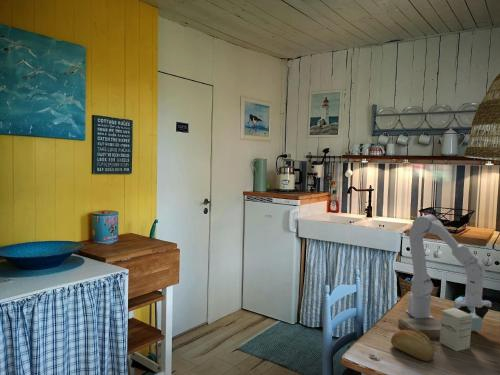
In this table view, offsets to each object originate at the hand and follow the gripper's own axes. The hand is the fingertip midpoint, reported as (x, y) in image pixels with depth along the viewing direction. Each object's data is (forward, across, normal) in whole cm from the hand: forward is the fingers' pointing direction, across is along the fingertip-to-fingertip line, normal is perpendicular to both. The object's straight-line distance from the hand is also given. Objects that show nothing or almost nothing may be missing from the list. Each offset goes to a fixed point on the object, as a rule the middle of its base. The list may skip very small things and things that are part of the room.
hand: (471, 324), depth 156 cm
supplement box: (+3, -14, -10) cm, 18 cm away
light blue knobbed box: (+3, +8, +16) cm, 18 cm away
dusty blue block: (+1, 0, 0) cm, 1 cm away
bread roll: (+3, -33, -14) cm, 36 cm away
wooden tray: (+3, -19, +2) cm, 19 cm away
